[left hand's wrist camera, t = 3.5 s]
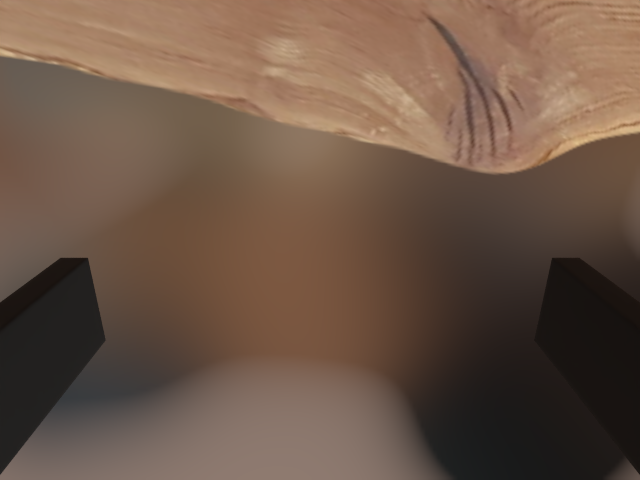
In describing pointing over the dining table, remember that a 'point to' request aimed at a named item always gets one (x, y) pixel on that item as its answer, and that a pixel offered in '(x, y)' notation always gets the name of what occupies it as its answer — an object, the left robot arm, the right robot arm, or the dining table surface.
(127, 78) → the dining table surface
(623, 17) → the dining table surface
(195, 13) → the dining table surface
